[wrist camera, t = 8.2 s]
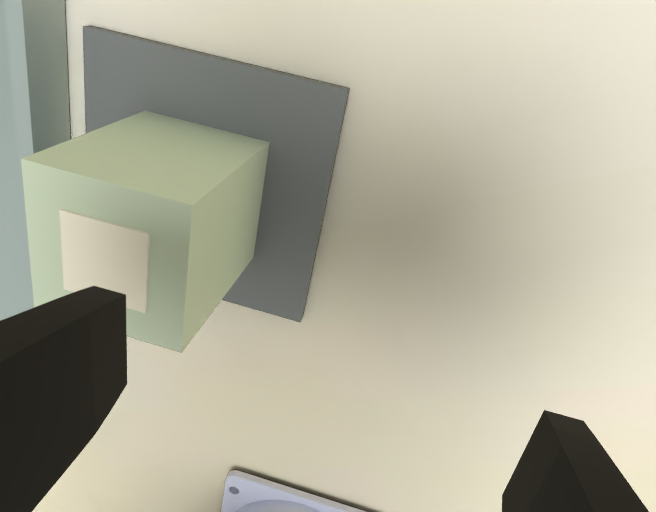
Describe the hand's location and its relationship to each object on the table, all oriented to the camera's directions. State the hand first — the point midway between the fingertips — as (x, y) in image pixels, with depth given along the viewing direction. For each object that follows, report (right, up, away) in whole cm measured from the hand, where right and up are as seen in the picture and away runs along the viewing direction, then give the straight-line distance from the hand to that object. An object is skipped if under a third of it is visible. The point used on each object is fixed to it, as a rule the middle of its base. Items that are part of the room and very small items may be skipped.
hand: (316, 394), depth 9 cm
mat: (-4, +5, +10) cm, 12 cm away
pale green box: (-4, +5, +10) cm, 12 cm away
